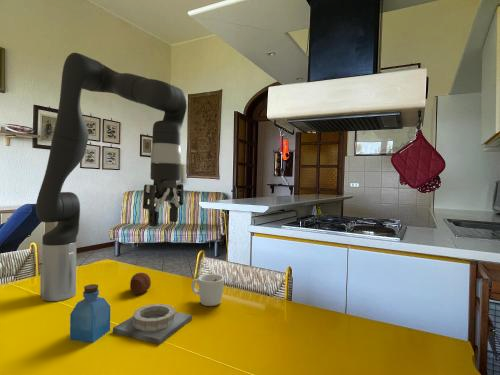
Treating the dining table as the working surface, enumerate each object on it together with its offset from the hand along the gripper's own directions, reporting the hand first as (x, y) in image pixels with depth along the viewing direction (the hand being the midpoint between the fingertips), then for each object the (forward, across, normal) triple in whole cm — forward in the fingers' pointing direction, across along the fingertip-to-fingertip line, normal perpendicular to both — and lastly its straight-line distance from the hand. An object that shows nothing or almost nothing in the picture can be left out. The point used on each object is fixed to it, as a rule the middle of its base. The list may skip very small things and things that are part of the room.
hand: (164, 223), depth 81 cm
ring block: (+27, +2, -1) cm, 27 cm away
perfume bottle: (+27, +11, -12) cm, 32 cm away
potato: (+27, -17, -21) cm, 38 cm away
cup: (+27, -17, +4) cm, 32 cm away
